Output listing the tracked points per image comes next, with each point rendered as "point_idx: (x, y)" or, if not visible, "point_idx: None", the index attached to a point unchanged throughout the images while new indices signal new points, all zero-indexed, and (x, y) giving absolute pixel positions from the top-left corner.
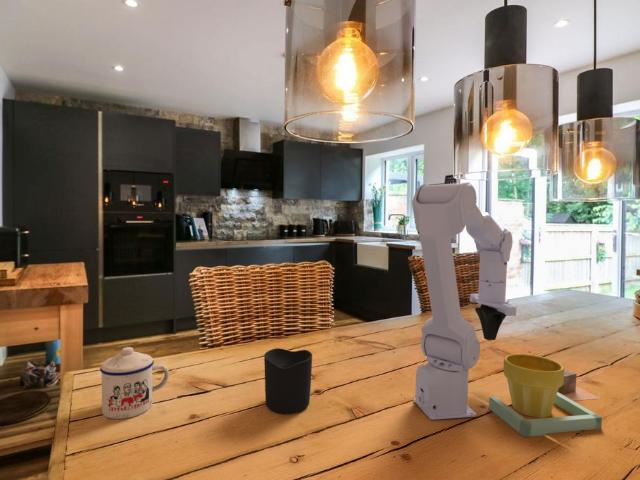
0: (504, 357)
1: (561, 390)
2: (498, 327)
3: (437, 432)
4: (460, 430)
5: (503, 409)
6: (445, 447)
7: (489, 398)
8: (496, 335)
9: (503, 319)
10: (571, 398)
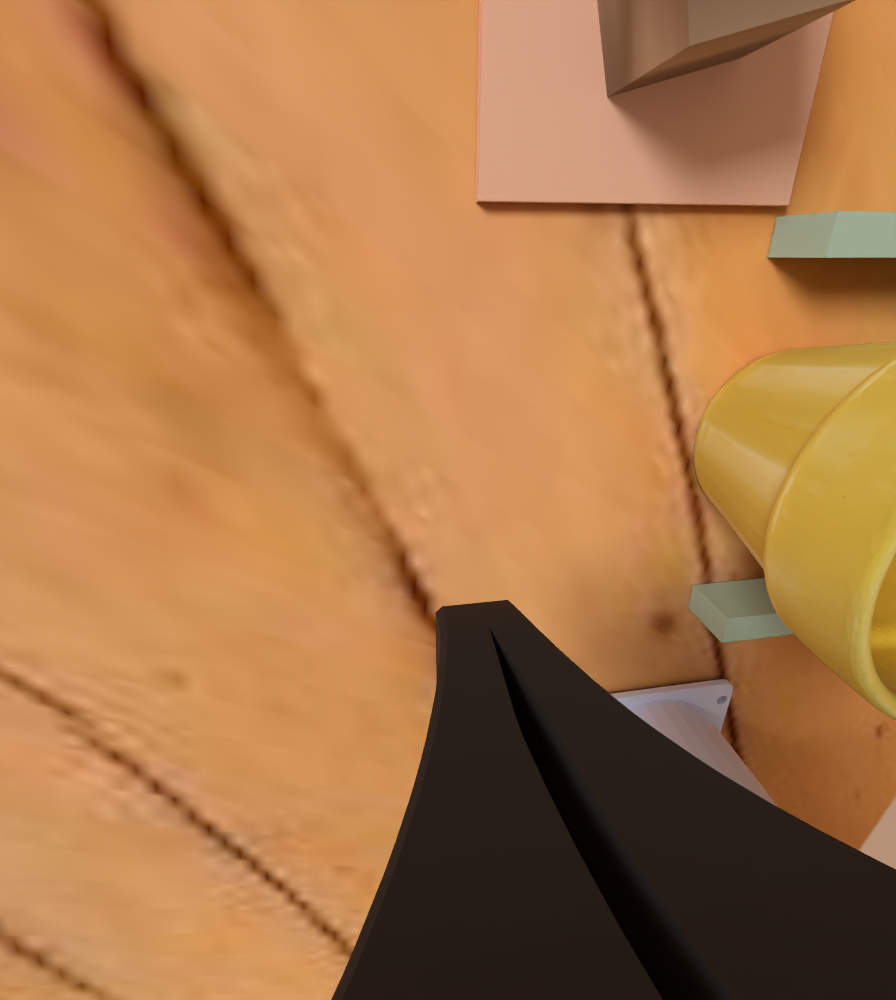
0: (880, 707)
1: (739, 53)
2: (615, 715)
3: None
4: (765, 745)
5: None
6: (809, 797)
7: (718, 637)
8: (534, 628)
9: (811, 833)
10: (798, 48)
